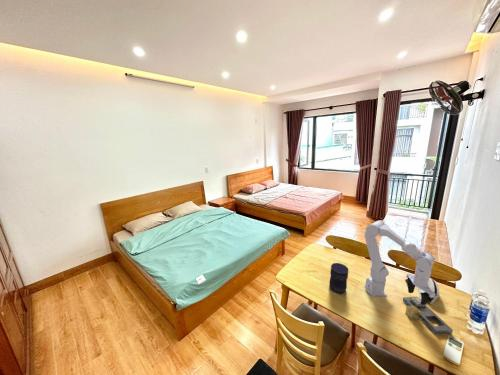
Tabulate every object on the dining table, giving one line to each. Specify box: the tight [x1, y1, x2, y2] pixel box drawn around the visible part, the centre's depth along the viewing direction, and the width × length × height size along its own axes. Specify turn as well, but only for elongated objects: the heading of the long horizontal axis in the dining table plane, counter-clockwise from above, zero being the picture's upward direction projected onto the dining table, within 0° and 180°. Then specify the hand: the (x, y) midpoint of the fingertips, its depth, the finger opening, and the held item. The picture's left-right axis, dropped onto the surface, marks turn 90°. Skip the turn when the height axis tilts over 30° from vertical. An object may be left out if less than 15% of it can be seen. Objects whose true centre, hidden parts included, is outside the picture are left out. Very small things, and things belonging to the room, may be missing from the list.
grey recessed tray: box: [402, 296, 454, 336], centre depth 103 cm, size 8×20×2 cm, turn 2°
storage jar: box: [328, 262, 349, 295], centre depth 122 cm, size 10×10×15 cm
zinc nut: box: [411, 296, 425, 309], centre depth 108 cm, size 4×4×6 cm
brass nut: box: [405, 305, 421, 321], centre depth 103 cm, size 4×4×6 cm
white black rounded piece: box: [416, 277, 441, 305], centre depth 117 cm, size 17×5×10 cm, turn 148°
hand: (416, 298), depth 103 cm, fingers open, 7 cm apart
